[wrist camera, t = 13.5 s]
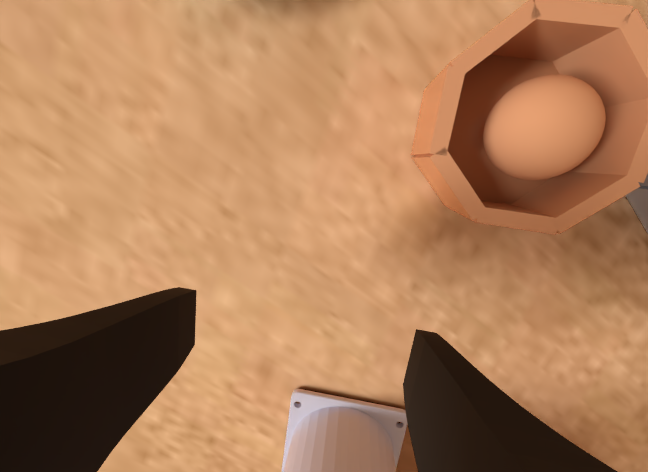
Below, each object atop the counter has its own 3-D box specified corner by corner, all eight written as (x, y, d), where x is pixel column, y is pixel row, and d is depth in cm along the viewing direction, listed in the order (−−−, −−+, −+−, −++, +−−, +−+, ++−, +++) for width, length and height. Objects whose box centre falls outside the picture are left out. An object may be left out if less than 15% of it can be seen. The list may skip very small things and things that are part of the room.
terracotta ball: (522, 180, 17) (611, 191, 13) (453, 170, 16) (526, 178, 12) (547, 94, 16) (653, 75, 12) (475, 76, 15) (564, 49, 11)
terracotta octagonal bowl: (553, 222, 17) (619, 244, 13) (401, 200, 18) (416, 213, 13) (609, 55, 15) (710, 13, 11) (434, 36, 16) (464, -11, 11)
